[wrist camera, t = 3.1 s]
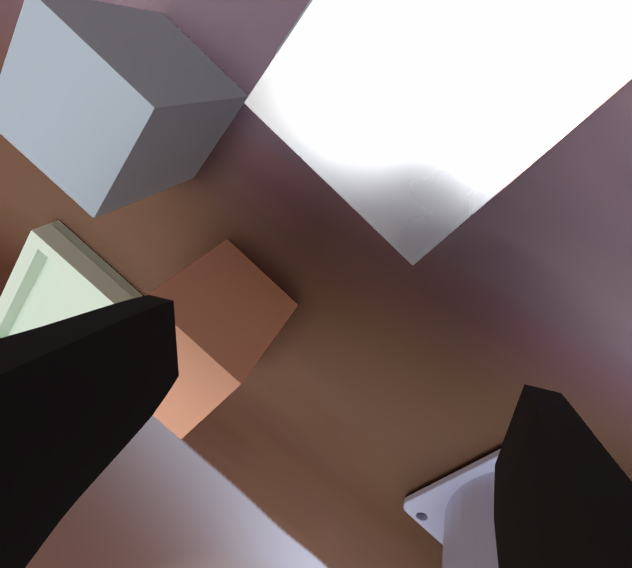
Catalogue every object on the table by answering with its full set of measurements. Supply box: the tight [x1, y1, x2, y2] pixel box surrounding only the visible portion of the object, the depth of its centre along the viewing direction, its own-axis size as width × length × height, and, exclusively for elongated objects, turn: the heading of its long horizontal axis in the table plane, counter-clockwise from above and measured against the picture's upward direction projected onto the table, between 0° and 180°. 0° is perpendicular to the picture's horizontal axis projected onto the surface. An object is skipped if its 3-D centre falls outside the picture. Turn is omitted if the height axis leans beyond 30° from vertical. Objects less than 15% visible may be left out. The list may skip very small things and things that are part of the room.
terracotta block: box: [148, 239, 298, 439], centre depth 17 cm, size 4×4×6 cm
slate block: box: [0, 0, 248, 218], centre depth 14 cm, size 4×4×6 cm
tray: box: [0, 220, 143, 338], centre depth 23 cm, size 9×9×2 cm
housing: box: [244, 0, 632, 265], centre depth 10 cm, size 7×10×6 cm
